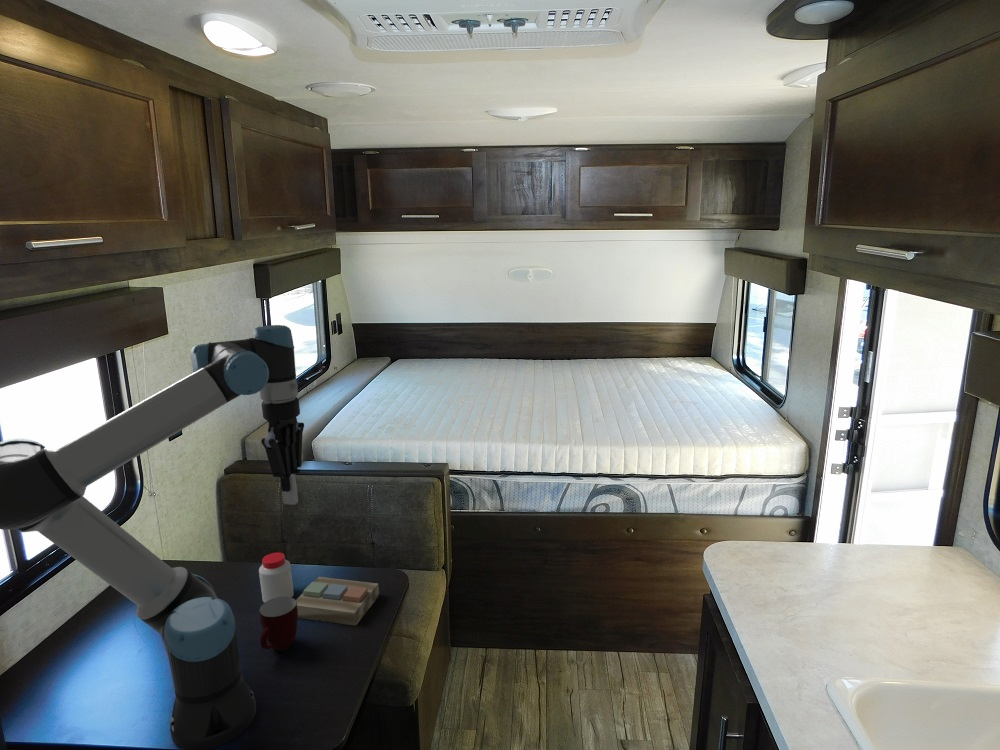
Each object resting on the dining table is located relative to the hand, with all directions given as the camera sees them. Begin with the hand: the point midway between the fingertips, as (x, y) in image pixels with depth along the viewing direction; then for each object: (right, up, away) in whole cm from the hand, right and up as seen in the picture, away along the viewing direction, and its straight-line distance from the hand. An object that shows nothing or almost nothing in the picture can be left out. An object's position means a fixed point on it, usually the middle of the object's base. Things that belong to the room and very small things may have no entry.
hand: (291, 502), depth 139 cm
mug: (-4, -34, +5) cm, 35 cm away
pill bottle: (-12, -30, +26) cm, 41 cm away
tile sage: (-1, -28, +22) cm, 36 cm away
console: (+5, -30, +21) cm, 37 cm away
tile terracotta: (+10, -29, +19) cm, 36 cm away
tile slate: (+5, -29, +20) cm, 35 cm away
